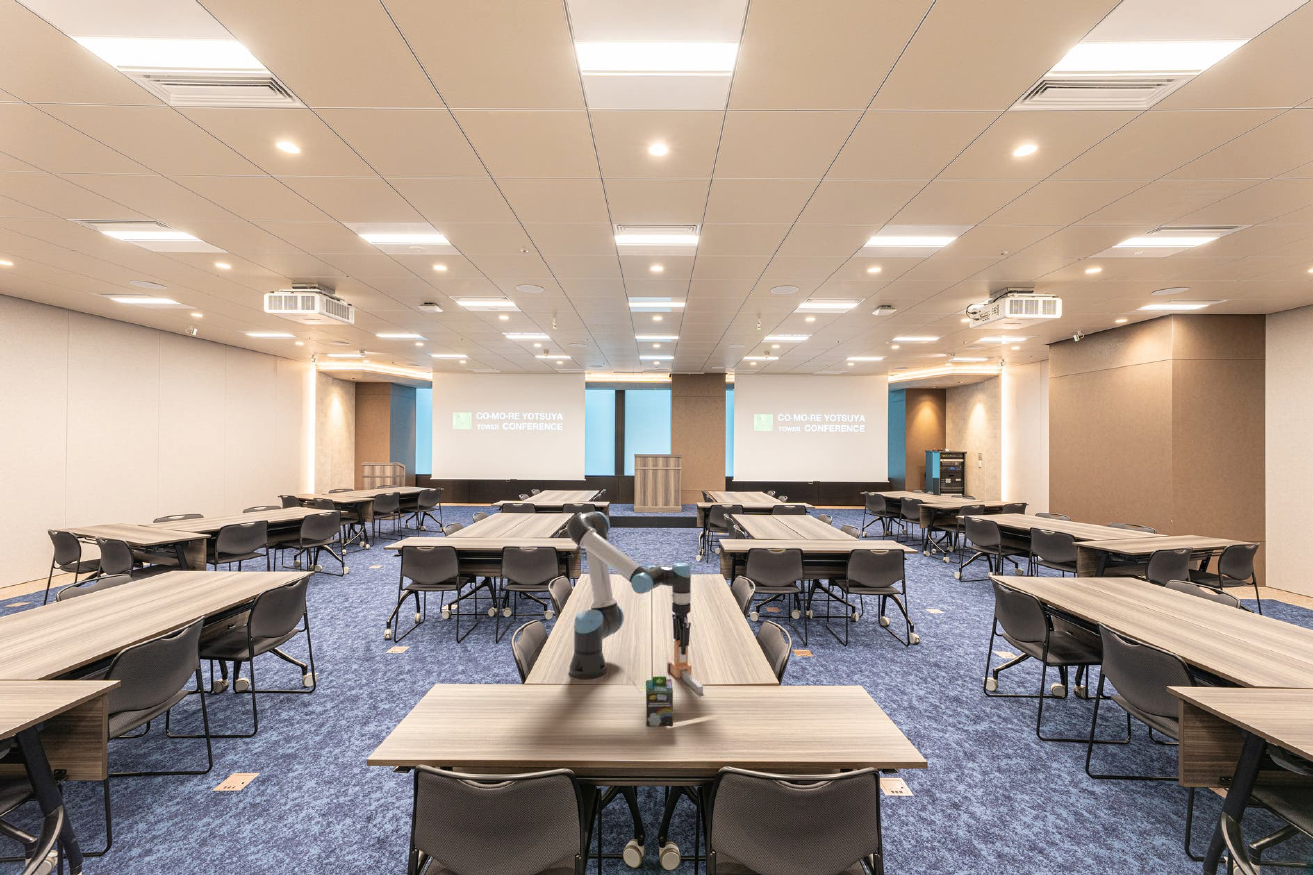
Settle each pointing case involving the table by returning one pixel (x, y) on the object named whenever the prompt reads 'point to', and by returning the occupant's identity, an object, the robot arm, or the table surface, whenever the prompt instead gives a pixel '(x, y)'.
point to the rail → (689, 680)
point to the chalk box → (659, 702)
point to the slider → (676, 666)
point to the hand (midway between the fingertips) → (680, 660)
